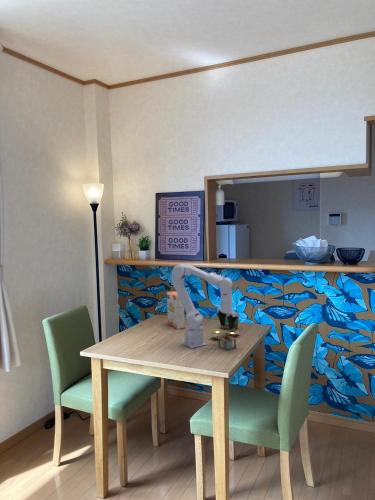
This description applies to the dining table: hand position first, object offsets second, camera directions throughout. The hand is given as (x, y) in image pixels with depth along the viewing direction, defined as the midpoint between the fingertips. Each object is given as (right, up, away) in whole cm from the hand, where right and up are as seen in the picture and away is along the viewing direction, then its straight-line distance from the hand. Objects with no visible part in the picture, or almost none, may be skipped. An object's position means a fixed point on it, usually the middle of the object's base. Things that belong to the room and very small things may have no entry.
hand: (227, 327), depth 212 cm
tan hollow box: (0, -10, 0) cm, 10 cm away
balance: (+1, -9, +18) cm, 20 cm away
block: (0, -11, 0) cm, 11 cm away
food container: (+4, -8, +33) cm, 34 cm away
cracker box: (-28, -8, +43) cm, 52 cm away
